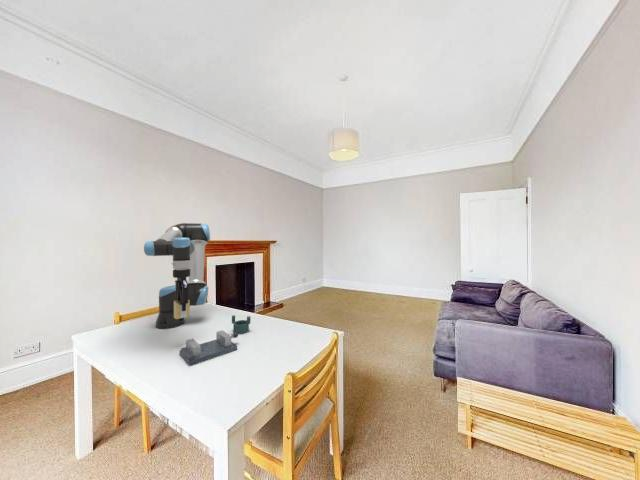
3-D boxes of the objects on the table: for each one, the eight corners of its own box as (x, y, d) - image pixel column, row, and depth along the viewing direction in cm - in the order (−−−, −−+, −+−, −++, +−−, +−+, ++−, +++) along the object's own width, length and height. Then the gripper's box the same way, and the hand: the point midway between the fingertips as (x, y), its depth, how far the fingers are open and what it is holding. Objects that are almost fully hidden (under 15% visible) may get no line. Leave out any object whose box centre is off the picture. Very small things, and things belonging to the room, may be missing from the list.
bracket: (251, 332, 139) (251, 316, 139) (234, 335, 135) (234, 319, 135) (247, 327, 147) (247, 312, 147) (231, 330, 142) (231, 314, 142)
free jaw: (216, 340, 123) (216, 331, 123) (233, 335, 129) (233, 327, 129) (225, 347, 116) (225, 337, 116) (242, 341, 122) (242, 332, 122)
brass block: (173, 317, 121) (173, 301, 121) (187, 314, 125) (187, 298, 125) (176, 319, 118) (176, 302, 118) (189, 316, 123) (189, 300, 123)
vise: (179, 354, 113) (179, 340, 113) (224, 340, 128) (224, 328, 128) (189, 366, 103) (189, 350, 103) (237, 349, 118) (237, 336, 118)
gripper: (168, 267, 125) (168, 313, 125) (178, 271, 113) (178, 322, 113) (184, 266, 130) (184, 310, 131) (195, 269, 118) (195, 318, 118)
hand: (181, 316), depth 122 cm, fingers closed on brass block, 4 cm apart
